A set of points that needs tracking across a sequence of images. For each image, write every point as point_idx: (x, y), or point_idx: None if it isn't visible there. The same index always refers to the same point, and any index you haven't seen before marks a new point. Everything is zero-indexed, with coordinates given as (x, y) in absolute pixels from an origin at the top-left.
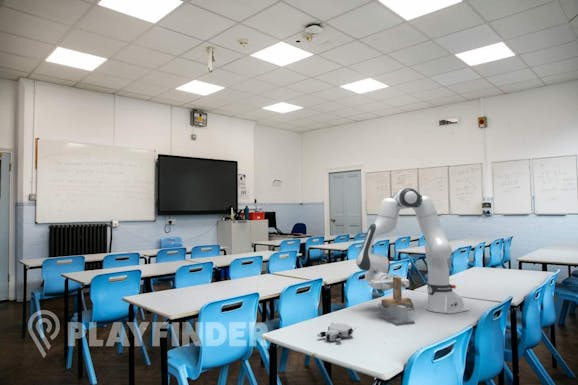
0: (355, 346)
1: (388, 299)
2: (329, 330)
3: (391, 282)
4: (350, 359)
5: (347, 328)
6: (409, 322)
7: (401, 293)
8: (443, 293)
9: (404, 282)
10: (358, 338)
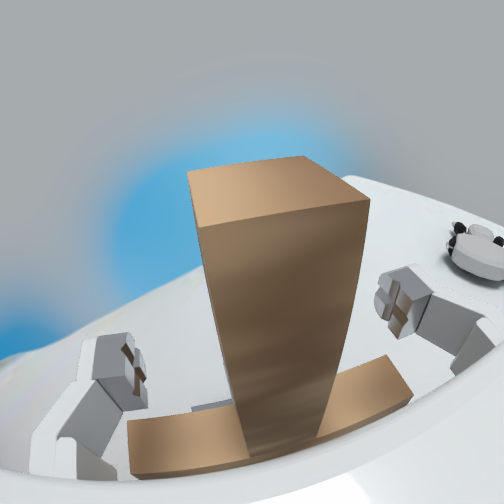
0: (418, 226)
1: (366, 414)
2: (489, 232)
3: (371, 425)
4: (406, 195)
5: (462, 238)
6: (225, 402)
7: (225, 368)
8: None
9: (45, 437)
10: (429, 259)
